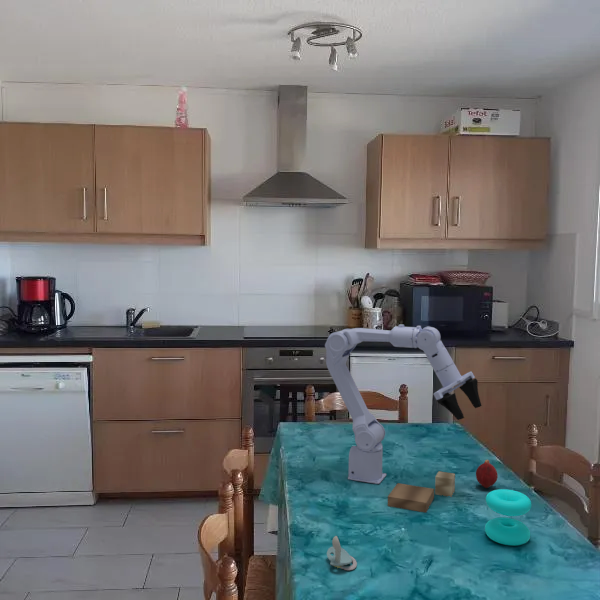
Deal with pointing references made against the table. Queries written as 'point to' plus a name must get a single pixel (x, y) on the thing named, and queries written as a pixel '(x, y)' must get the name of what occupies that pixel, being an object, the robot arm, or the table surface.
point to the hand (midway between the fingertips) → (469, 412)
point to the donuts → (504, 527)
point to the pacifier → (340, 556)
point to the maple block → (444, 483)
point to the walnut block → (411, 497)
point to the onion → (486, 474)
